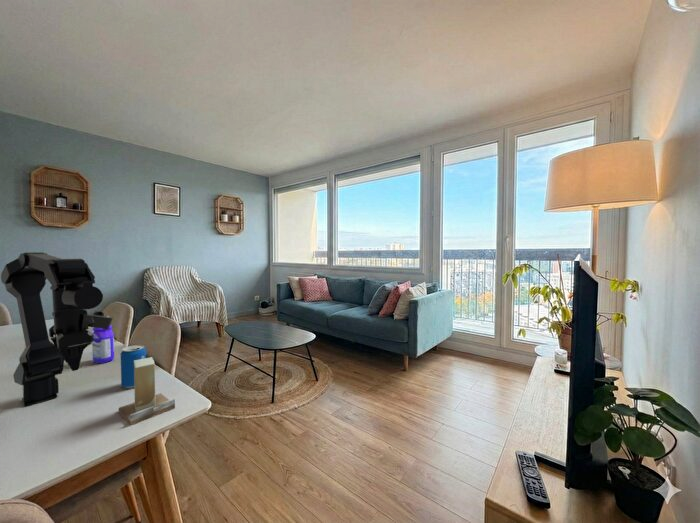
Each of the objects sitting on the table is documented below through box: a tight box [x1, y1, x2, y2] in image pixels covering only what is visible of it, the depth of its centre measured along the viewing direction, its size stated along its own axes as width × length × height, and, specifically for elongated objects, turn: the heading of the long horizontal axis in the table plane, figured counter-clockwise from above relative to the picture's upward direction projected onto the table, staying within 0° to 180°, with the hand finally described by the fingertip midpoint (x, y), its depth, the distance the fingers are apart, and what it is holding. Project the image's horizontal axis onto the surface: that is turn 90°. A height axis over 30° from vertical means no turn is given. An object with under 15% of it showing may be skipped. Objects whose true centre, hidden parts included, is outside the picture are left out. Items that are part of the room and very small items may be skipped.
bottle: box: [91, 315, 115, 364], centre depth 111 cm, size 7×6×17 cm
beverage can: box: [120, 344, 147, 389], centre depth 92 cm, size 6×6×12 cm
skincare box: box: [134, 356, 156, 412], centre depth 78 cm, size 6×4×12 cm
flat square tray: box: [118, 393, 176, 426], centre depth 78 cm, size 10×10×2 cm
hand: (72, 366), depth 75 cm, fingers open, 9 cm apart
